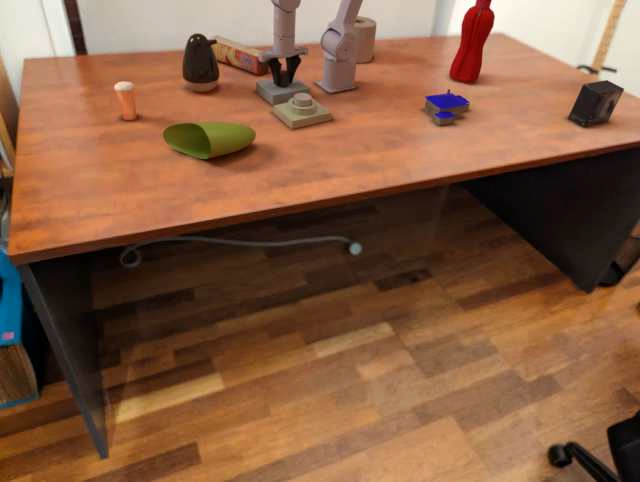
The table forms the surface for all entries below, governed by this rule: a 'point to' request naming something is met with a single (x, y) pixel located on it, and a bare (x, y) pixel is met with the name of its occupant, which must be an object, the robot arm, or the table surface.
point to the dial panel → (280, 91)
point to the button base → (301, 113)
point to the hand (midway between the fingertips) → (283, 83)
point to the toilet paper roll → (364, 39)
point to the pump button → (302, 100)
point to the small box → (595, 103)
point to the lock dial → (284, 78)
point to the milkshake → (126, 99)
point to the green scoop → (208, 138)
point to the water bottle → (472, 42)
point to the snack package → (238, 55)
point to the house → (445, 107)
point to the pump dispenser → (200, 64)
